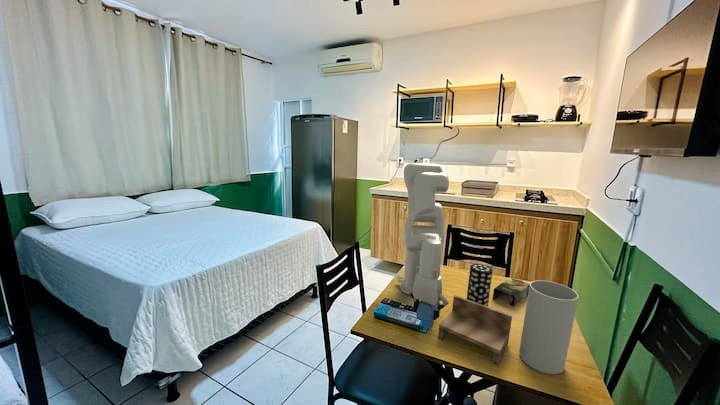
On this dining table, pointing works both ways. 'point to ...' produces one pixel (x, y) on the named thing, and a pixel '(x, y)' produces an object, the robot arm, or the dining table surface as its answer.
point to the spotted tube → (479, 283)
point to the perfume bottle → (425, 314)
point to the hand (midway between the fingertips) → (425, 314)
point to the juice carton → (513, 290)
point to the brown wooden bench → (478, 326)
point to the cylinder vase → (548, 326)
